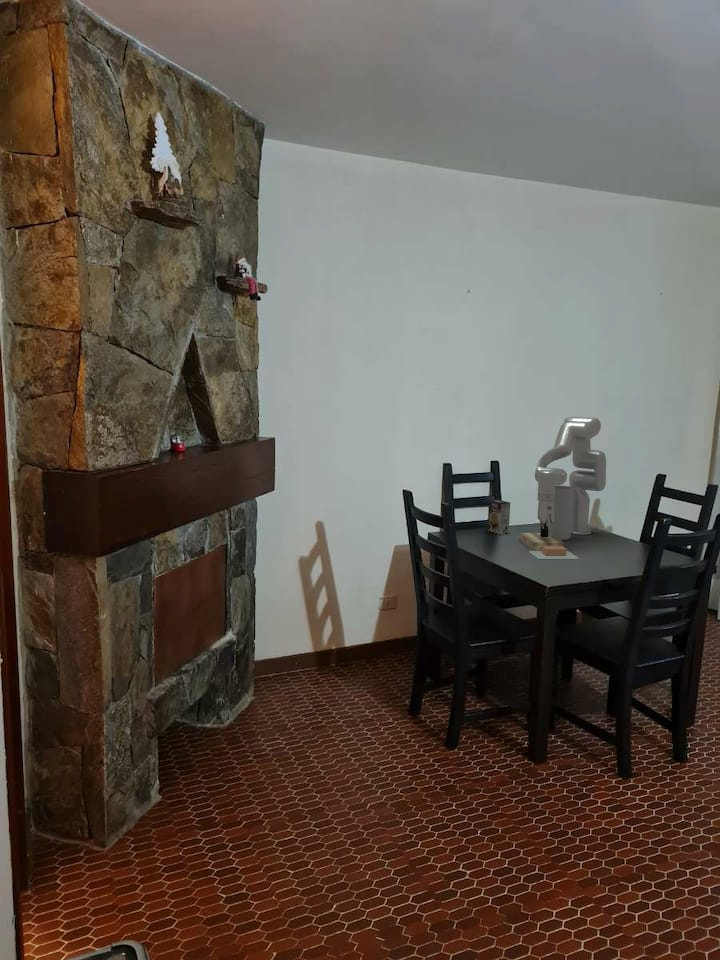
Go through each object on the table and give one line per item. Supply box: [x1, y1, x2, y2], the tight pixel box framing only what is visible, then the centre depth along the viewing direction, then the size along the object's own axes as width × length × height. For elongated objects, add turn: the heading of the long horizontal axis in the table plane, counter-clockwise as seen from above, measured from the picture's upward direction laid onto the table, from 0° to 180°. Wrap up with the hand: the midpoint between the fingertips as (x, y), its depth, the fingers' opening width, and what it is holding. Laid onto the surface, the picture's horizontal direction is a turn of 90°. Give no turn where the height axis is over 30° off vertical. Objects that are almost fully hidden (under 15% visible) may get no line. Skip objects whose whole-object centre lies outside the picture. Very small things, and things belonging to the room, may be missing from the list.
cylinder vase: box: [548, 485, 573, 541], centre depth 339 cm, size 12×12×25 cm
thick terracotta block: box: [542, 545, 568, 556], centre depth 307 cm, size 9×6×3 cm, turn 94°
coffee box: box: [487, 499, 511, 535], centre depth 350 cm, size 9×6×16 cm
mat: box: [528, 550, 580, 560], centre depth 306 cm, size 18×14×1 cm
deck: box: [519, 532, 564, 551], centre depth 323 cm, size 14×20×4 cm
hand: (544, 536), depth 319 cm, fingers closed
